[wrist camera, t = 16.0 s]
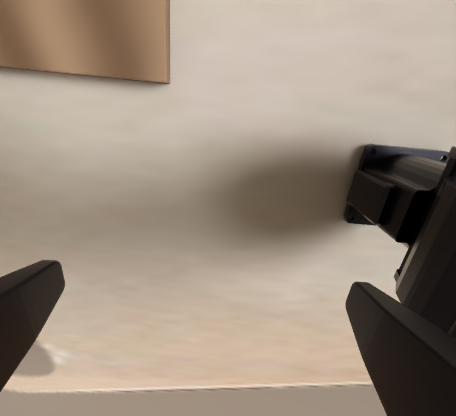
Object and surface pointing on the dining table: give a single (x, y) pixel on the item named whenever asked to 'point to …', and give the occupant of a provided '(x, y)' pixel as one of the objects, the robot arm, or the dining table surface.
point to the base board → (88, 37)
